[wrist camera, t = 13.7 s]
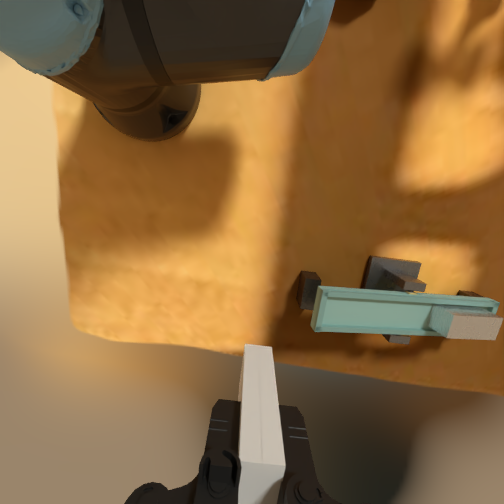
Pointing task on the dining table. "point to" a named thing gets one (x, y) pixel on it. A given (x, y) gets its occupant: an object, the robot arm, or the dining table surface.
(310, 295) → the stand
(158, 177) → the dining table surface
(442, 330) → the block
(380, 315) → the beam
